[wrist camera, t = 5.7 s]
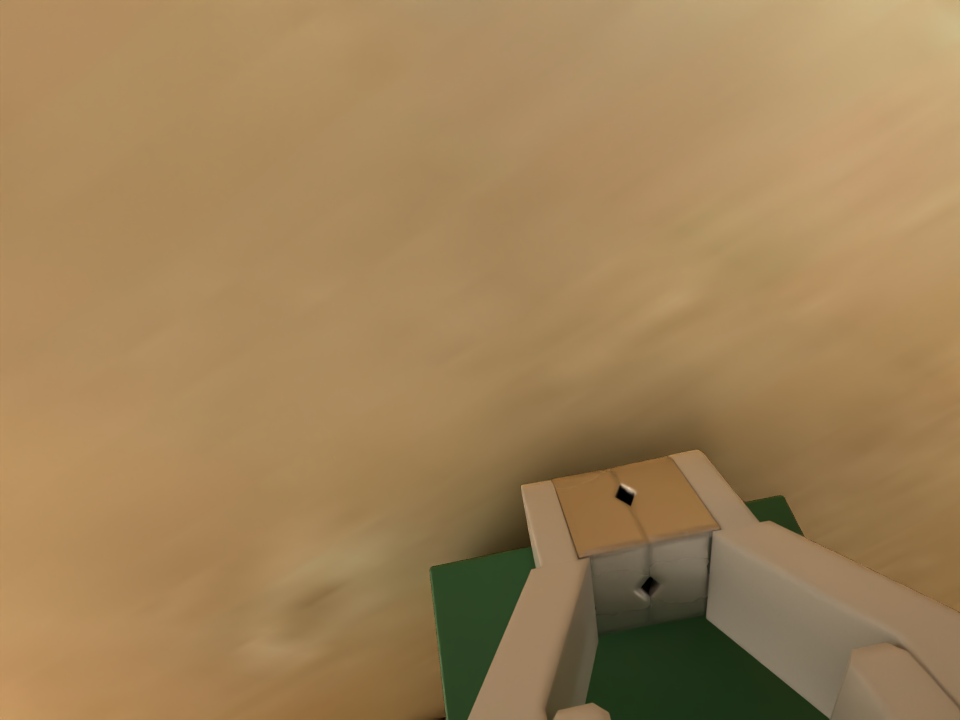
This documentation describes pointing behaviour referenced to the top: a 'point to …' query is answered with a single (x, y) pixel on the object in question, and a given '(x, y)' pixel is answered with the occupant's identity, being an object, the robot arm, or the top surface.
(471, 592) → the block
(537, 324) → the top surface
